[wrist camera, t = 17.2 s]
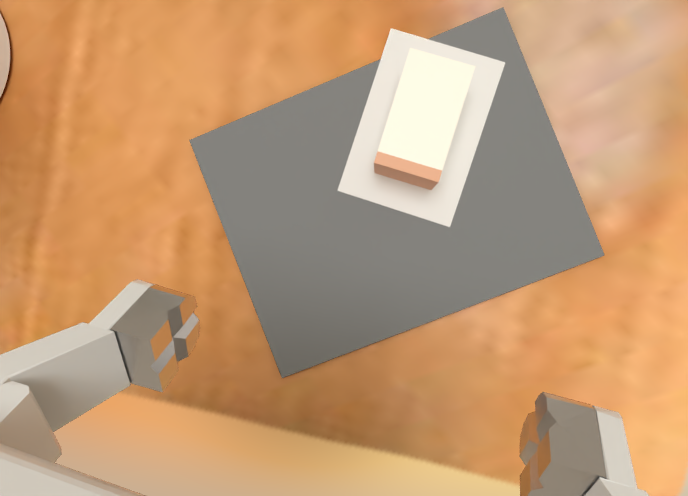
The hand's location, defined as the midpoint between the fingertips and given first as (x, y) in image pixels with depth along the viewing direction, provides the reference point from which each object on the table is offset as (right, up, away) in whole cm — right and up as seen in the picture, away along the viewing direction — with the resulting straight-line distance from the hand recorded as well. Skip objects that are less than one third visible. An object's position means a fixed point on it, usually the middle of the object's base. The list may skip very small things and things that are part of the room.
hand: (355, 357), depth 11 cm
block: (+6, +15, +23) cm, 28 cm away
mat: (+3, +6, +26) cm, 27 cm away
